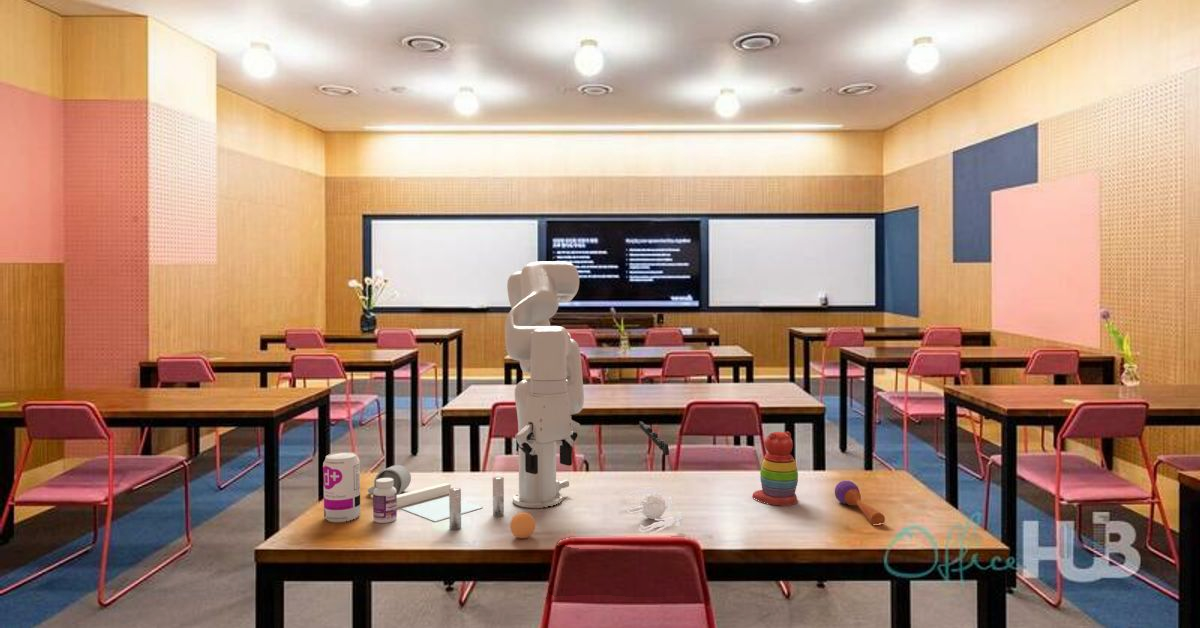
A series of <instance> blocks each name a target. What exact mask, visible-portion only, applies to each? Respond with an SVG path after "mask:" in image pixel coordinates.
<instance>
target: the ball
mask: <svg viewBox="0 0 1200 628" xmlns="http://www.w3.org/2000/svg"><path fill="white" fill-rule="evenodd" d="M509 525H510V526H509V528H510V531H511V533H512V534H513V536H515V537H516V538H518V539H526V538H529V537H530V536H532V534H533V533H535V529H536V520H535V519H534V517H533V516H532V515H531V514H530V513H528V512H525V511H524V512H518V513H516V514H515V515H513V517H512V519H511V521H510V524H509Z"/></svg>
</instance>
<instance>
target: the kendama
mask: <svg viewBox="0 0 1200 628" xmlns="http://www.w3.org/2000/svg"><path fill="white" fill-rule="evenodd" d="M834 496H835V498H836V500H837V501H838V502H840V504H842V503H844V504H843V505H846V504H848V506H858V507H859V509H860V511H861V512H862V513H863V514H864V516H865V517H866V519H867V520H868V521H869V522H870V523H871V525H872V524H879V523H885V520H886V518H885V515H884V514H883V513H881V512H879V510H876V509H875V508H873V507H871V506H870V505H867V504H866V503H864V502H863V501H862V497H861V496H862V495H861V493H860V488H859V486H857V485H856V483H854V482H853V481H851V480H842V481H840V482H838V483H837V484H836V486H835V487H834Z"/></svg>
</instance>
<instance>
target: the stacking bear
mask: <svg viewBox="0 0 1200 628" xmlns="http://www.w3.org/2000/svg"><path fill="white" fill-rule="evenodd" d="M793 444H794V443H793V439H792V434H791V432H790V431H789V430H788V431H785V432H783V431H774V432H771V433H769V435H767V437H766V438H765V440H764V446H765V450H766V451H767V453H766V454H764V458H763V460H762V462H761V463H762V464H761V467H760V473H759V475H760V483H761V489H759V490H756V491H754V492H753V493H752V499H753V498H755V499H757V500H759V501H762V502H765V503H768V504H767V505H770V504H774V505H773V506H775V505H782V506H781V507H784V506H783V505H789V506H793V505H795V504H797V502H798V497H797V494H796V490H797V486H798V480H799V472H798V469H797V468H798V467H797V466H798V465H797V462H796V460H795V459H794V457H793V455H792V454H791V453H792V450H793V446H794V445H793ZM755 499H754V500H755ZM757 500H756V501H757ZM759 501H758V502H759ZM762 502H761V503H762ZM765 503H764V504H765ZM792 504H793V505H792Z"/></svg>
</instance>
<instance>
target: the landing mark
mask: <svg viewBox="0 0 1200 628" xmlns="http://www.w3.org/2000/svg"><path fill="white" fill-rule="evenodd" d="M481 509H483V507H482V506H480V505H477V504H474V503H471V502H469V501H465V500H462V499H461V515H463V514H467V513H471V512H475V511H477V510H481ZM401 510H403V511H406V512H408V513H411V514H413V515H416V516H417V517H418V516H419V517H421V518H423V519H426V520H428V521H431V522H434V523H437V522H440V521H443V520H447V519H450V516H449V495H448V496H444V497H441V498H435V499H431V500H429V501H424V502H422V503H421V502H420V503H418V504H417V503H416V504H414V505H413V504H412V505H411V506H410V505H409V506H406V507H401Z"/></svg>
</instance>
